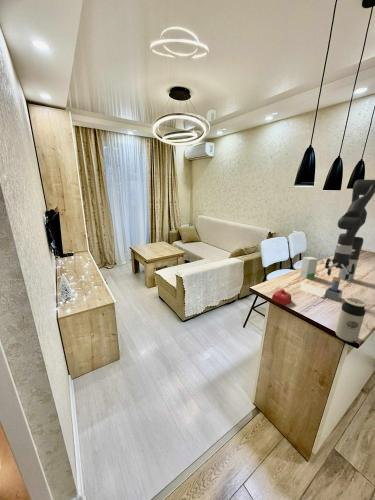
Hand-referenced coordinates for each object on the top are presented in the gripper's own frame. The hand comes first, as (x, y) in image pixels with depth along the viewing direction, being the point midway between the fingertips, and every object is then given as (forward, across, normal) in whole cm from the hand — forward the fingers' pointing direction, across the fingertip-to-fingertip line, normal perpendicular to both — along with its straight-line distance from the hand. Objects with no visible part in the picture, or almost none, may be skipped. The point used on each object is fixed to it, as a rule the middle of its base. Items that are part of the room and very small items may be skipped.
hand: (337, 277), depth 126 cm
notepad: (+14, +12, 0) cm, 18 cm away
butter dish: (+14, +18, +31) cm, 38 cm away
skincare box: (+14, +23, -22) cm, 35 cm away
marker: (+13, 0, 0) cm, 13 cm away
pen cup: (+14, 0, 0) cm, 14 cm away
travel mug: (+13, -16, +38) cm, 43 cm away
